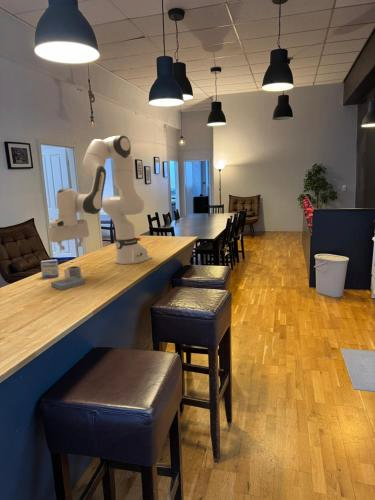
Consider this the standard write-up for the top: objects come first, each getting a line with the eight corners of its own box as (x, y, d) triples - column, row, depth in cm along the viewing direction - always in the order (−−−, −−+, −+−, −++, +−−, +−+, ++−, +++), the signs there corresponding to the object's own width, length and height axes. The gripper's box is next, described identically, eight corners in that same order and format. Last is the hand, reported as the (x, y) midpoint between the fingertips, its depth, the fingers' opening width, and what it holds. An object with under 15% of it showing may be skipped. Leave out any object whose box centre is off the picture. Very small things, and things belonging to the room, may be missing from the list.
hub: (77, 274, 185) (76, 265, 184) (83, 276, 181) (82, 267, 180) (65, 277, 180) (64, 268, 179) (72, 279, 176) (71, 270, 175)
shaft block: (74, 280, 175) (72, 265, 173) (85, 283, 168) (83, 268, 167) (51, 286, 166) (49, 271, 165) (61, 290, 160) (59, 274, 158)
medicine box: (42, 278, 181) (40, 262, 179) (43, 276, 185) (41, 260, 183) (58, 276, 183) (56, 260, 181) (59, 274, 187) (57, 258, 185)
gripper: (83, 218, 184) (86, 244, 187) (45, 223, 169) (49, 250, 172) (90, 219, 180) (92, 245, 182) (51, 224, 165) (55, 252, 168)
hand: (71, 248), depth 177 cm, fingers open, 8 cm apart
